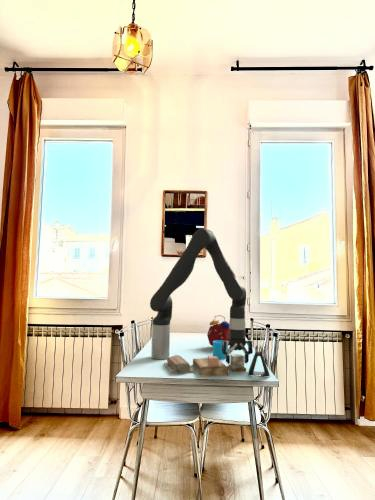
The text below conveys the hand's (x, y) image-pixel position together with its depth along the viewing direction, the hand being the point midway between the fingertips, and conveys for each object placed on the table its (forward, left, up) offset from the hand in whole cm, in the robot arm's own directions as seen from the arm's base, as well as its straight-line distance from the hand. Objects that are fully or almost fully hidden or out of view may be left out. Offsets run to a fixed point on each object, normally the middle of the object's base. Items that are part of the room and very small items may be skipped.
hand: (237, 363), depth 156 cm
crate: (-13, -5, 0) cm, 14 cm away
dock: (-13, +1, -3) cm, 13 cm away
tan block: (0, 0, -3) cm, 3 cm away
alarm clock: (+4, +47, -3) cm, 47 cm away
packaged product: (-27, +5, -4) cm, 28 cm away
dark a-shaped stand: (+7, -9, -3) cm, 12 cm away
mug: (0, +27, -3) cm, 27 cm away
